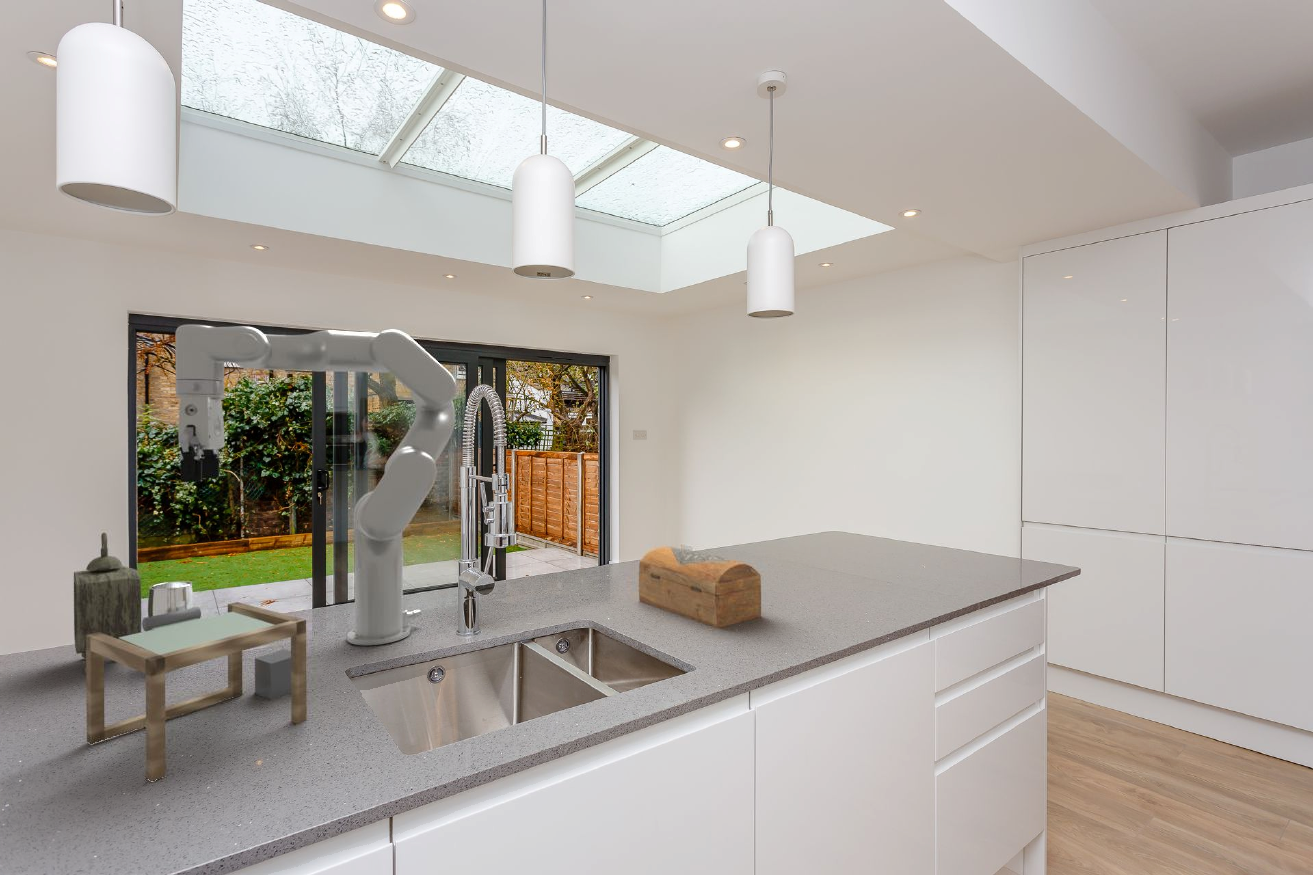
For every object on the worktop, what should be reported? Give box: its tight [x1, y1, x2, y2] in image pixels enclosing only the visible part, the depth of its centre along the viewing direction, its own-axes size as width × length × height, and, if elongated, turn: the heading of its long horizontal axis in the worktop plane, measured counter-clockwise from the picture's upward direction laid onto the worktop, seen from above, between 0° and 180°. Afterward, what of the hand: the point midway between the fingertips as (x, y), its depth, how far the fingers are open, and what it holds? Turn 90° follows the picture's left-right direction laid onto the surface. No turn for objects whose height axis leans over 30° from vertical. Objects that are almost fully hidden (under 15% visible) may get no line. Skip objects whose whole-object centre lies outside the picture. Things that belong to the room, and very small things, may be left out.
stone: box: [254, 649, 291, 700], centre depth 108 cm, size 5×5×6 cm
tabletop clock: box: [73, 532, 142, 673], centre depth 121 cm, size 14×9×25 cm, turn 45°
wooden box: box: [638, 546, 762, 629], centre depth 159 cm, size 30×16×14 cm, turn 37°
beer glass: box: [147, 580, 195, 617], centre depth 121 cm, size 7×7×15 cm
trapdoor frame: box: [85, 601, 308, 782], centre depth 93 cm, size 20×20×16 cm
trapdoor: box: [119, 606, 274, 655], centre depth 94 cm, size 15×17×2 cm
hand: (200, 479), depth 120 cm, fingers open, 9 cm apart
